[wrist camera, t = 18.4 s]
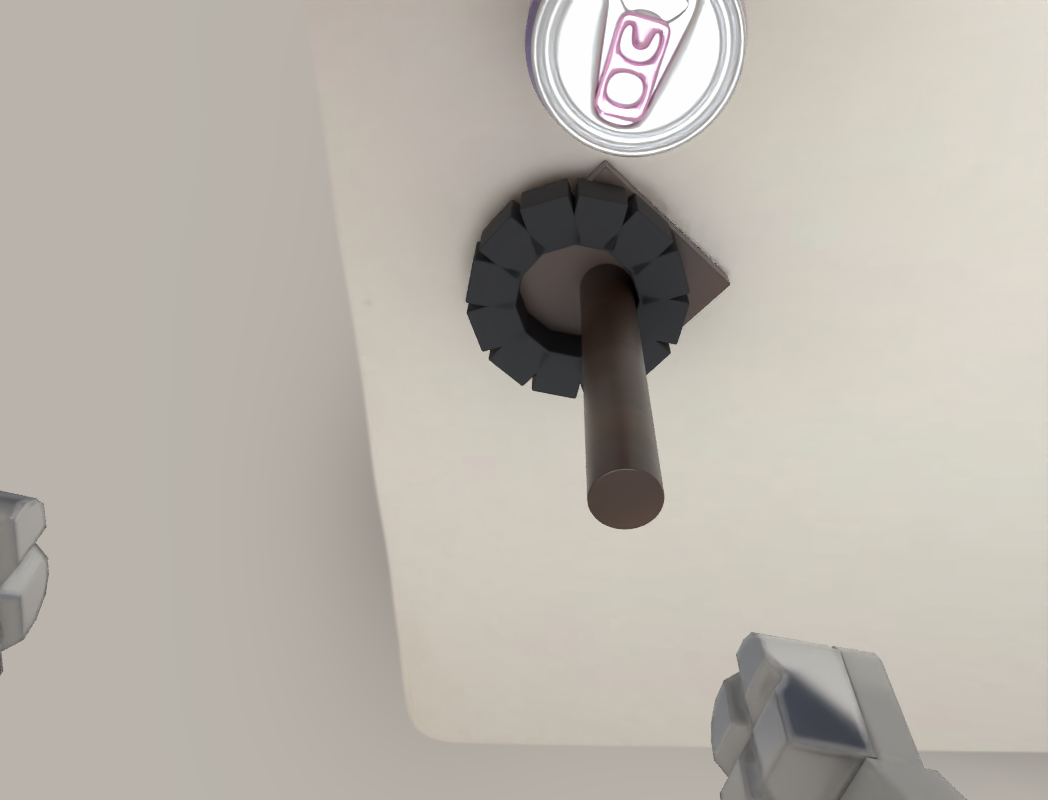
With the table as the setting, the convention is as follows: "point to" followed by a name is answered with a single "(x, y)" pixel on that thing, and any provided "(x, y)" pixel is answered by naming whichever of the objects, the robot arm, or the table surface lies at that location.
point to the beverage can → (635, 68)
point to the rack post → (613, 361)
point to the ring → (554, 225)
